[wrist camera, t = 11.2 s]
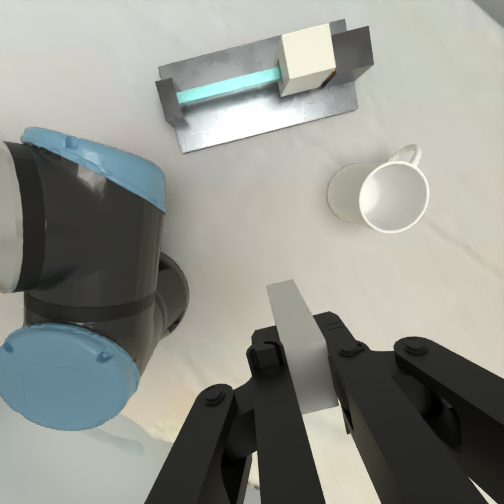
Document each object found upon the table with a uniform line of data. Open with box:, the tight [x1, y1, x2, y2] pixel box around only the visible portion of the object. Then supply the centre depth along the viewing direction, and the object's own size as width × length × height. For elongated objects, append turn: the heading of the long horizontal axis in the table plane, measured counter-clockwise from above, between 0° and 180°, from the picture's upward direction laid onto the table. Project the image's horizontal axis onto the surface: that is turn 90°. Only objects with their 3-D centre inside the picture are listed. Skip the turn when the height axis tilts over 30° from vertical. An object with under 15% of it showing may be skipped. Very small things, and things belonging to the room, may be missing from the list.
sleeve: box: [274, 23, 336, 97], centre depth 35 cm, size 5×4×7 cm
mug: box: [327, 144, 429, 233], centre depth 40 cm, size 12×8×12 cm
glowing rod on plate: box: [155, 19, 374, 154], centre depth 39 cm, size 25×11×7 cm, turn 104°
